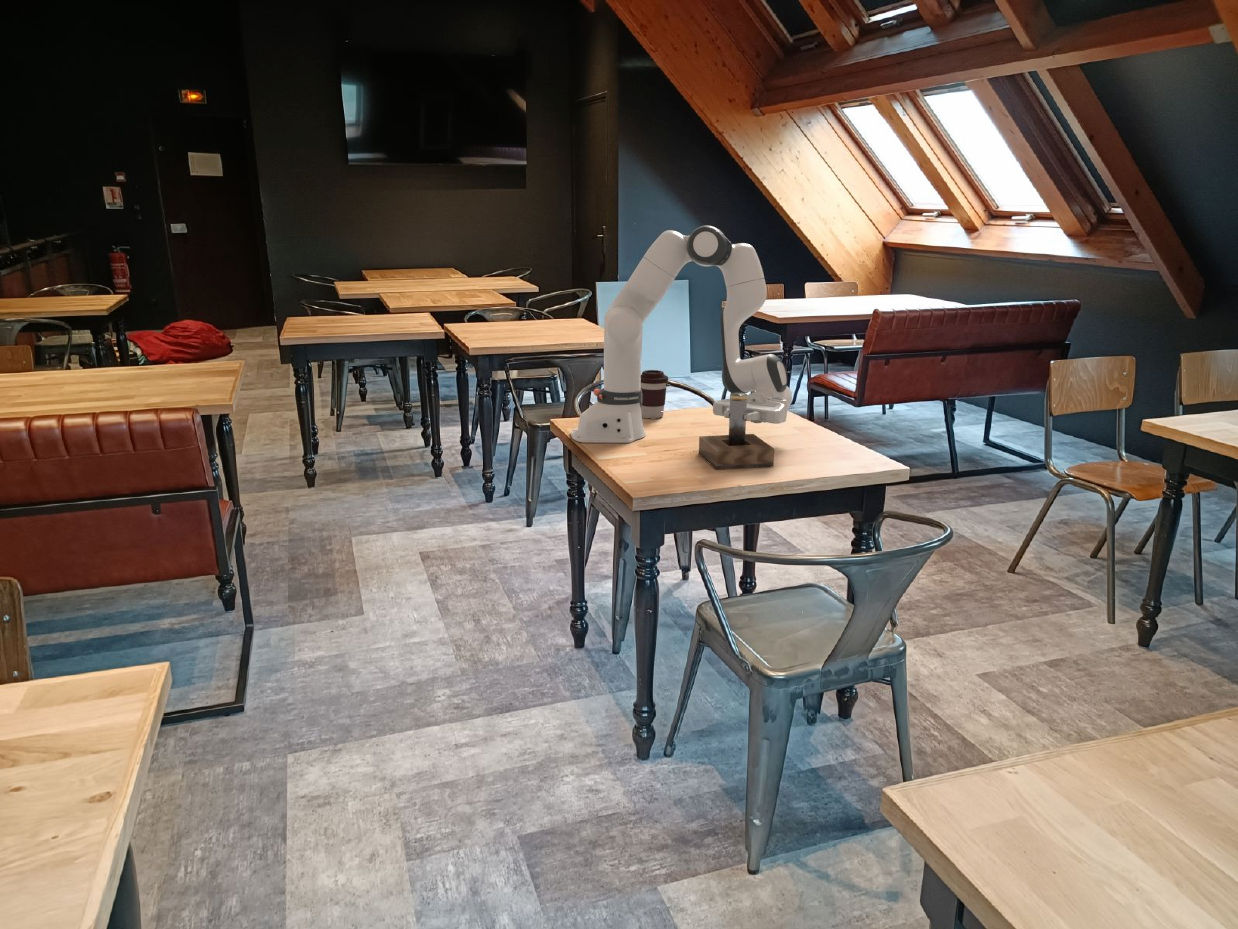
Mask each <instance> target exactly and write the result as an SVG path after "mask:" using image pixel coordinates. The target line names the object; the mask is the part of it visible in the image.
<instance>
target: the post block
mask: <svg viewBox="0 0 1238 929" xmlns="http://www.w3.org/2000/svg"><path fill="white" fill-rule="evenodd" d="M728 441H729V434H724V435H721V434H720V435H719V434H718V435H704V436H703V435H702V436H699V438H698V455H700V456H701V457H702V458H703V459H704V460H705V461H706V462H707V463H708V462H709V463H710V466H712V468H714V469H715V470H717V471H718V470H719V471H720V470H721V469H722V470H733V469H734V470H736V469H738V470H739V469H755V468H756V469H757V468H771V466H773V467H774V461H775V448H774V447H773V446H771V445H770V444H769V443H767V442H765V440H763V439H762V438H760V437H759V436H757V435H756V434H754V433H745V445H740V446H729V445H728ZM709 463H708V464H709Z"/></svg>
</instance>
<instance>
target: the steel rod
mask: <svg viewBox="0 0 1238 929" xmlns="http://www.w3.org/2000/svg"><path fill="white" fill-rule="evenodd" d="M747 395H748V393H730V394H729V399H730V413H729V418H728V435H729V441H728V445H729V446H740V445H745V434H746V428H747V421H744V414H746V407H747Z"/></svg>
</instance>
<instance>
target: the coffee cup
mask: <svg viewBox="0 0 1238 929" xmlns="http://www.w3.org/2000/svg"><path fill="white" fill-rule="evenodd" d="M668 382H669V376H668V375H666V374H665V373H664V371H662V370H657V369H647V370H643V371H642V372H641V389H642V407H641V415H642V418H644V419H648V418H658V419H661V418H660V417H662V418H663V417H664V412H661V411H665V405H666V395H667V383H668Z"/></svg>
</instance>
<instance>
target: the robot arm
mask: <svg viewBox="0 0 1238 929" xmlns="http://www.w3.org/2000/svg"><path fill="white" fill-rule="evenodd" d="M690 262H691V263H693V264H695V265H696V264H697V265H699V266H700V267H701V266H702V267H713V266H716V267H718V268H719V269H720V271H721V272H722V275H723V279H724V284H725V288H726V301H725V305H724V306H723V308H722V309H721V310H720V338H721V339H720V341H721V342H720V343H721V353H722V356H721V357H722V368H721V369H722V370H721V382H722V384H723V385H722V386H723V387H724V389H726V391H727V392H729V393H730V394H731V393H745V394H747V407H746V414H744V421H746V422H751V423H753V424H762V423H768V424H776V425H777V424H778V425H779V424H781V423H786V421H787V417H788V408H790V405H791V403H792V400H793V394H792V390H791V389H790V387H789V386H788V383H789V382H788V378H789V376H788V372H787V367H786V365H785V363H784V362H783V361H782V360H781V358H779V357H778V356H777V355H775V354H773V353H769V354H764V355H759V356H755V357H751V358H746V359H741V354H740V341H739V340H740V339H739V338H740V337H739V332H740V329H741V328H740V327H741V326H742V325H743V323H745V321H746V320H747V319H749V318H750V317H753V315H754V314H756V313H758V311H759V310H761V309H762V307H763V305H764V304H765V302H766V299H767V294H768V293H767V284H766V280H765V276H764V270H763V267H762V265H761V261H760V258H759V256H758V253H757V252H756V249H755V248H754V247H753V245H751V244H749V243H745V242H741V243H740V242H739V243H732V242H731V241H730V240H729V239H728V238H727V237H726V236H725V234H724V232H723V231H721V229H719V228H717V227H715V226H713V225H710V224H709V225H707V224H706V225H700V226H698V227H697V228H695V229H694V230H693V231H692V232H691V233H690V234H688V235H684V234H682V233H680V232H679V231H676V230H670V229H668V230H665V231H663V232H662V233H661V234H660V235H659V236H658V237H657V238H656V239H655V241H654V242H653V243H652V244H651V245H650V246H649V247H648V249H647V251H646V252H645V254H644V255H643V257H642V258H641V260H640V261H639V263H638V264H637V266H636V267H635V269H634V271H633V272H632V274H631V276H630V277H629V278H628V280H627V281H626V283H625V284H624V286H622V288H621V290H620V291H619V292H618V294H617V295H616V297H615V298H614V300H613V301H612V303H611V304H610V306H609V307H608V309H607V310H606V312H605V314H604V317H603V388H602V389H599V388H594V390H593V395H594V396H595V397H596V402H595V403H593V404H591V405H590V406H589V407H588V408H587V409H586V410H585V411H583V412H581V413H580V416H579V419H578V423H577V427H575V428H573V429H571V431H570V437H571V438H572V439H573V440H574V441H576V442H579V443H585V444H586V443H587V444H588V443H598V444H599V443H603V444H604V443H611V444H613V443H614V444H615V443H618V444H619V443H621V444H622V443H625V444H626V443H629V444H630V443H633V442H635V441H637V440H640V439H642V438H644V437H646V432H645V428H644V423H643V417H642V415H641V407H642V389H641V375H642V372H641V371H642V353H643V352H642V351H643V350H642V349H643V346H642V345H643V324H644V323H645V322H646V320H647V319H648V317H649V316H650V315H651V314H652V312H653V311H654V310H655V308H656V306H658V304H660V302H661V300H662V299H663V297H664V296H665V294H666V293H667V292H668V290H669V289H670V288H671V286H672V284H673V283H674V281H675V279H676V277H677V276H678V274H679V273H680V271H681V270H682V268H684V267H685V265H687V263H690ZM750 392H751V393H750ZM748 393H749V394H748ZM712 404H713V405H712V414H713V415H715V416H721V417H724V418H726V419H729V413H730V398H723V399H719V400H716V401H714V402H713V403H712Z"/></svg>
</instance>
